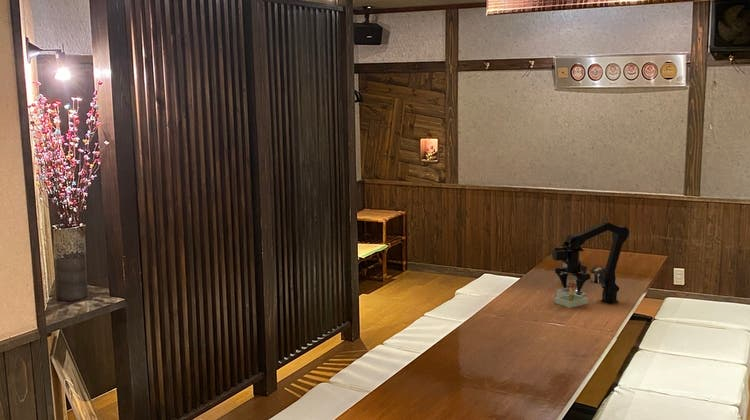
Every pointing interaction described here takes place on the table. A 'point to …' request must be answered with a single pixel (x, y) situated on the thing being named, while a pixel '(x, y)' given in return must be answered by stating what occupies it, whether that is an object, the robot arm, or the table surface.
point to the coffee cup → (570, 277)
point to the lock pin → (571, 291)
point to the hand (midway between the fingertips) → (571, 290)
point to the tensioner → (566, 291)
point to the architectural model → (596, 272)
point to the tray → (576, 302)
